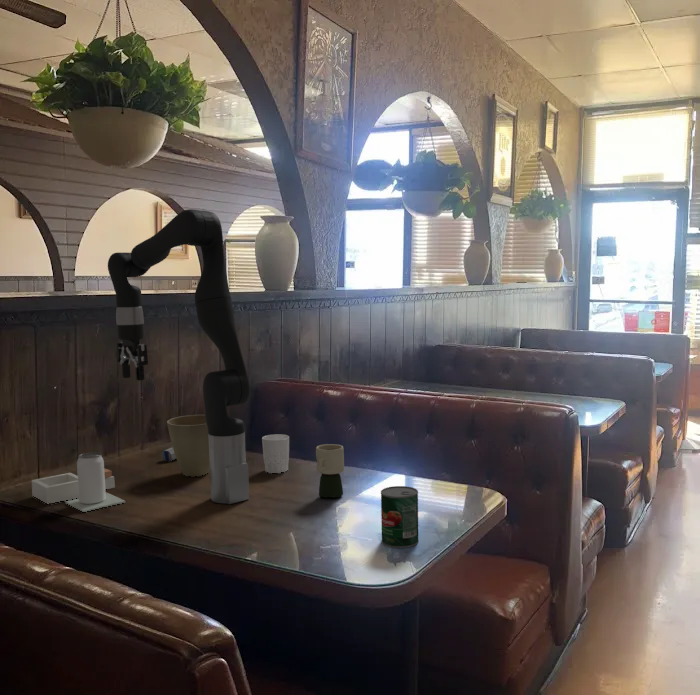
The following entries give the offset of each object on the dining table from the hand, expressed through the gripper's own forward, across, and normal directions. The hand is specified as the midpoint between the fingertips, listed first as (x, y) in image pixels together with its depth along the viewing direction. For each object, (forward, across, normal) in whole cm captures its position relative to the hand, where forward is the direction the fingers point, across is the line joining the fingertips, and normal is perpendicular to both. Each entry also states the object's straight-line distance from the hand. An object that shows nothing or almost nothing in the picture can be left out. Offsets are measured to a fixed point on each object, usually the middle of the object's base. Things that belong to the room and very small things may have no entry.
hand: (133, 378), depth 217 cm
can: (+28, -17, +21) cm, 39 cm away
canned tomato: (+28, -93, -13) cm, 98 cm away
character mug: (+28, -58, -24) cm, 69 cm away
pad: (+28, -18, +21) cm, 39 cm away
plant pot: (+28, -12, -12) cm, 33 cm away
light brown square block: (+28, -5, +14) cm, 32 cm away
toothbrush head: (+29, +10, -25) cm, 39 cm away
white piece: (+28, -5, +20) cm, 35 cm away
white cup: (+28, -27, -30) cm, 49 cm away
